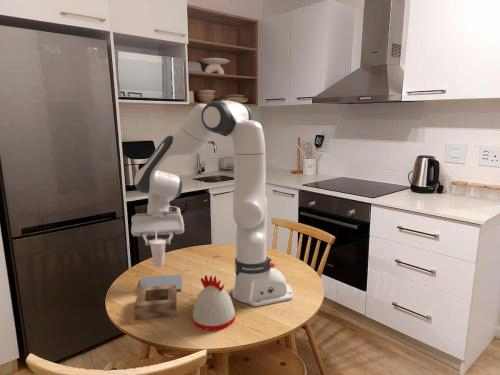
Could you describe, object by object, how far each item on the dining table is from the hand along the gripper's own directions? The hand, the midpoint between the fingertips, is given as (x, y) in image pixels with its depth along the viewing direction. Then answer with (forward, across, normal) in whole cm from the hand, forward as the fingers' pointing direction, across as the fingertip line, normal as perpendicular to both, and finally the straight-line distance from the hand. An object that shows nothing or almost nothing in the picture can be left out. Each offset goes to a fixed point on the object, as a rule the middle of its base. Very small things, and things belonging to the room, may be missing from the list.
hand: (157, 244), depth 140 cm
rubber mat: (+12, 0, +12) cm, 17 cm away
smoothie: (+6, 0, +6) cm, 9 cm away
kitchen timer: (+31, +19, -7) cm, 37 cm away
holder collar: (+24, 0, 0) cm, 24 cm away
